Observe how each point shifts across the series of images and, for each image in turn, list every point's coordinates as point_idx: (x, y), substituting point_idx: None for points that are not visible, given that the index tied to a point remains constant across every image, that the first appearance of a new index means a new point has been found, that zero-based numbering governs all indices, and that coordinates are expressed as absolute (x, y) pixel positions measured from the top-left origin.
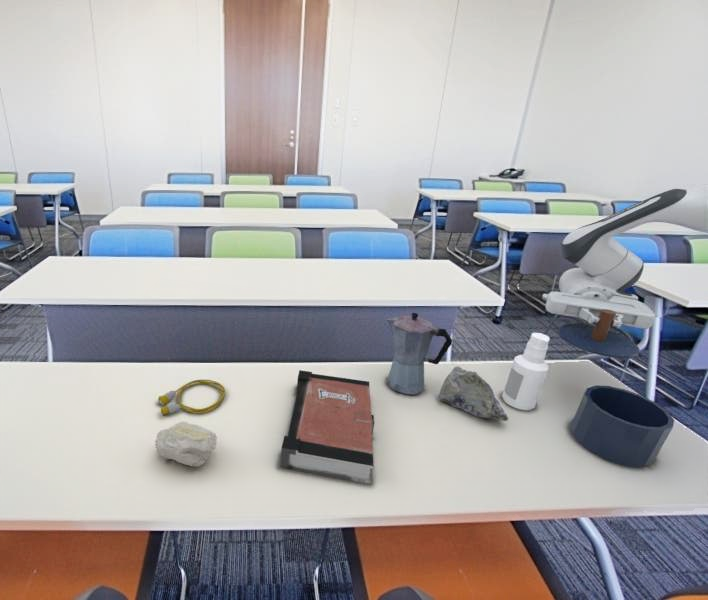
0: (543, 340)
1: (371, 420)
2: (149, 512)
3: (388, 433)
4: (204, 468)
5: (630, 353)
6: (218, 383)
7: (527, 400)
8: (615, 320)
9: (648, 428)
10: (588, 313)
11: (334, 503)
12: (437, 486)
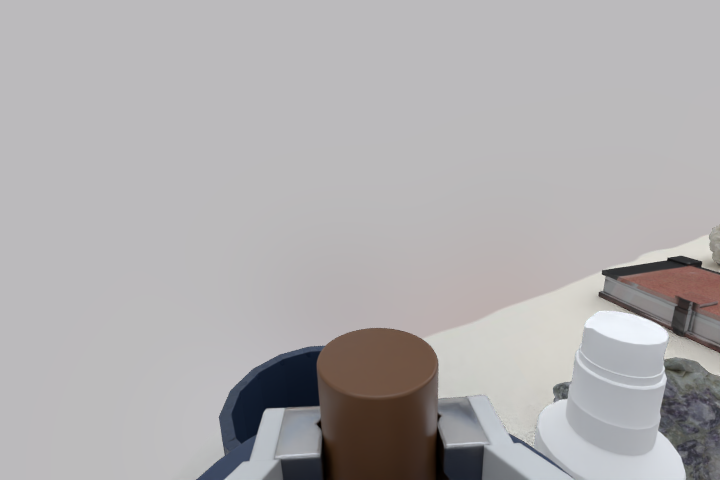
0: (596, 313)
1: (678, 296)
2: (677, 247)
3: (667, 345)
4: (712, 266)
5: (248, 452)
6: None
7: None
8: (311, 407)
9: (309, 347)
10: (532, 456)
11: (600, 279)
12: (547, 313)
